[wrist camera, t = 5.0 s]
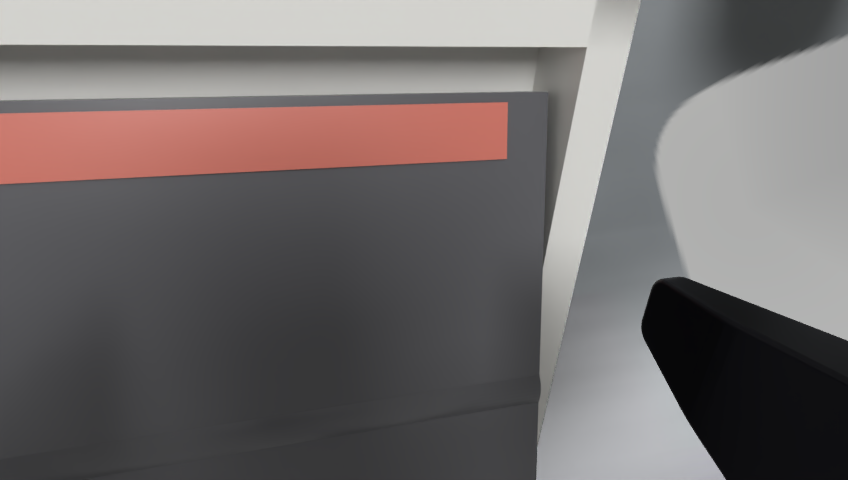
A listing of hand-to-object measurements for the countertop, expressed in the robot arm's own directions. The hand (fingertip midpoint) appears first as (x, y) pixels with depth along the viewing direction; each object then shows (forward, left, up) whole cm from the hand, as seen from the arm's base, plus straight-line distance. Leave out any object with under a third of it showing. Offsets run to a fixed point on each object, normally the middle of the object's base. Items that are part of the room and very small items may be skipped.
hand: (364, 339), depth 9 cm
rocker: (-5, +1, -4) cm, 7 cm away
